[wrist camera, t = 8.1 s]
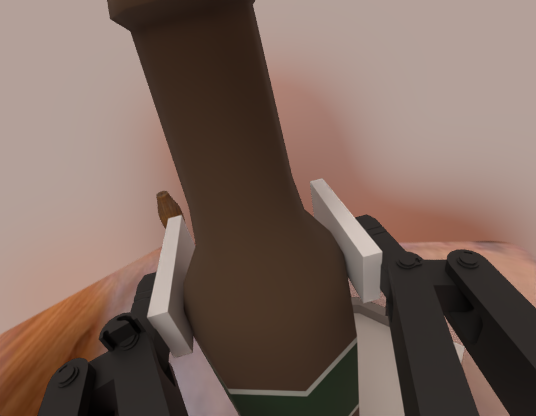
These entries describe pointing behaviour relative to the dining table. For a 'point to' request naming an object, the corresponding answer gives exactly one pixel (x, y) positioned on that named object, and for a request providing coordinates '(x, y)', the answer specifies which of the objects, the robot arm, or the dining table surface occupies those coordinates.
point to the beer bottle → (246, 215)
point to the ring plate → (378, 362)
